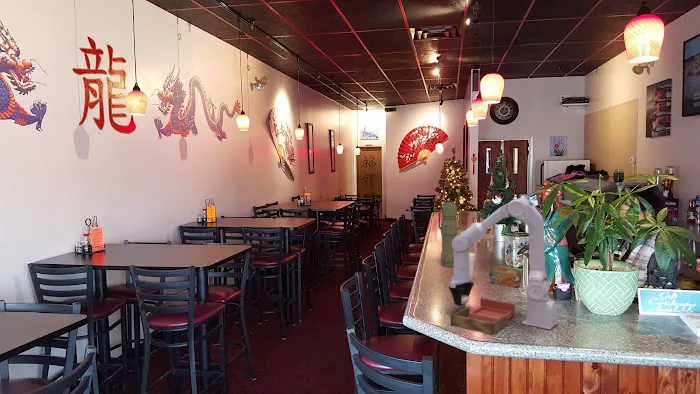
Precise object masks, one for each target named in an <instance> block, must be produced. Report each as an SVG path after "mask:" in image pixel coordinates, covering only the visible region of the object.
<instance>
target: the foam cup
mask: <svg viewBox="0 0 700 394" xmlns="http://www.w3.org/2000/svg"><path fill="white" fill-rule="evenodd" d="M475 261H476V254H475V253H474V252H469V275H471V276H473V272H474V266H475ZM470 282H472V281H470Z"/></svg>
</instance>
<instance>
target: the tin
mask: <svg viewBox="0 0 700 394" xmlns="http://www.w3.org/2000/svg"><path fill="white" fill-rule="evenodd" d="M488 275H489V278H490V280H491V282H492V283H493V284H494V285H497V286H498V285H499V286H505V287H509V288H510V287H511V288H514V287H517V286H519V285H520V284H521V283H522V281H523V276H522V273H521V271H520V270H519V269H517V268H514V267H507V266H500V265H499V266H495V265H494V266H493V267H491V269H490V270H489V274H488Z"/></svg>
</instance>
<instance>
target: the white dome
mask: <svg viewBox="0 0 700 394" xmlns="http://www.w3.org/2000/svg"><path fill="white" fill-rule="evenodd" d="M469 298H470V295H469V296H467V295H463V294H462V299H461V303H462V304H464V303H466V304H468V303H470V302H469V301H470V300H469Z"/></svg>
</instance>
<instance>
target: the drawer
mask: <svg viewBox="0 0 700 394" xmlns="http://www.w3.org/2000/svg"><path fill="white" fill-rule="evenodd" d="M515 312H516V304H515V303H511V302H505V301H500V300H494V299H489V298H484V297H481V298H480V306H479V307H477V308H476V309H474V310H472V311H469V317H468V318H472V319H476V320H481V321H485V322H490V323H493V322H494V321H496V320H498V319H499V318H501V317H502V316H504V315H508V320H509V319H510V318H516V315H515V314H516V313H515Z"/></svg>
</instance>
